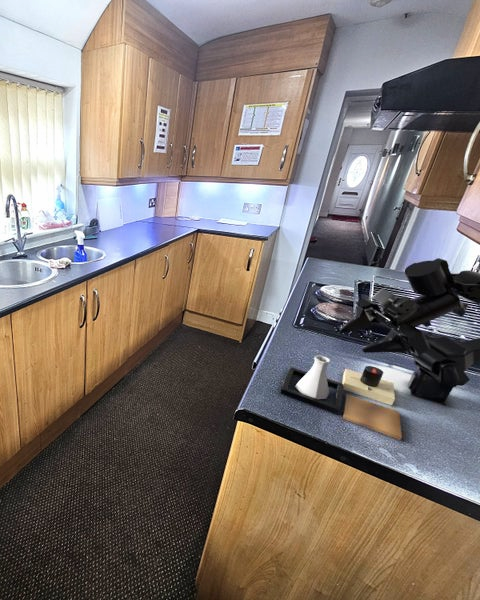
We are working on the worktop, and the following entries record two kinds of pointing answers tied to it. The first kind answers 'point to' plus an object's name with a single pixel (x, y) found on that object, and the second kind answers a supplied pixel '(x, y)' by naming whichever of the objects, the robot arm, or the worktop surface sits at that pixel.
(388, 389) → the cream flat block
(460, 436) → the worktop surface
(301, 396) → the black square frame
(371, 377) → the knob
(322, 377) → the flask
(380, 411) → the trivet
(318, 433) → the worktop surface
